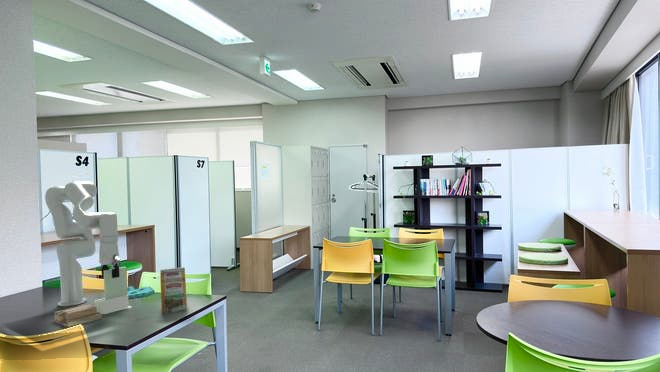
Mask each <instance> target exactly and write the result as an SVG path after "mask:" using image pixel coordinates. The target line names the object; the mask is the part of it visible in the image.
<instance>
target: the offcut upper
mask: <svg viewBox="0 0 660 372" xmlns="http://www.w3.org/2000/svg"><path fill="white" fill-rule="evenodd" d="M85 305H86V306H83V305H81V306H82V307H79V306H77V307H78V308H74V307H73V308H74V309H70V308H69V309H70V310H66V309H64V310H65V311H63V317H64V318H66V319H72V318H76V317H80V316H84V315H88V314H92V313H96V312H97V307H96V306H95V305H92V304H85ZM97 313H98V312H97Z"/></svg>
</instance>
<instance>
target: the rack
mask: <svg viewBox="0 0 660 372" xmlns="http://www.w3.org/2000/svg"><path fill="white" fill-rule="evenodd" d="M86 305H87V304H83V305H80V306H75V307H71V308H67V309H62V310H57V311H54V312H53V313H54V315H53V316H54V322H55V323H57V324H60V325H62V326H65V327H67V328H70V327H71V326H72V327H75V326H78V325H77V324H79V325H83V324H86V323H90V322H93V321H97V320H101V319H103V316H102V315H103V314H101V313H97V314H96V315H92V316H88V317H84V318H80V319H76V320H73V321H69V322H68V325H67V324H64V323H63V311H65V310H70V309H74V308H78V307H82V306H86ZM72 327H71V328H72Z"/></svg>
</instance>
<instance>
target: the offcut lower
mask: <svg viewBox="0 0 660 372" xmlns="http://www.w3.org/2000/svg"><path fill="white" fill-rule="evenodd" d="M96 314H98V312H96V313H92V314H88V315H84V316H80V317H76V318H72V319H66V318H64V317H63V323H64V324H67V325H68V322H69V321H73V320H76V319H80V318H84V317H88V316H92V315H96Z"/></svg>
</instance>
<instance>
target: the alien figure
mask: <svg viewBox="0 0 660 372" xmlns="http://www.w3.org/2000/svg"><path fill="white" fill-rule="evenodd" d="M127 292H128V300H129V299H130V300H131V299H136V298H142V297H148V296H151V295H153V294H155V289H154V288H152V287H151V286H142V287H139V288H137V289H136V288H135V287H134V286H127Z"/></svg>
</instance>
